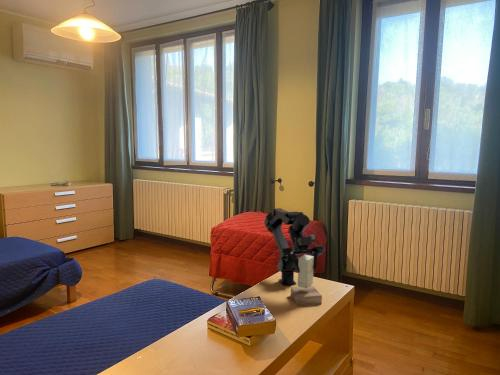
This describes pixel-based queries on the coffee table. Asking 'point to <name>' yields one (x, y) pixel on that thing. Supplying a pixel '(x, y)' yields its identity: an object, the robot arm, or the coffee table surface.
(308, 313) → the coffee table surface
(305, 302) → the grey square block
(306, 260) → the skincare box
